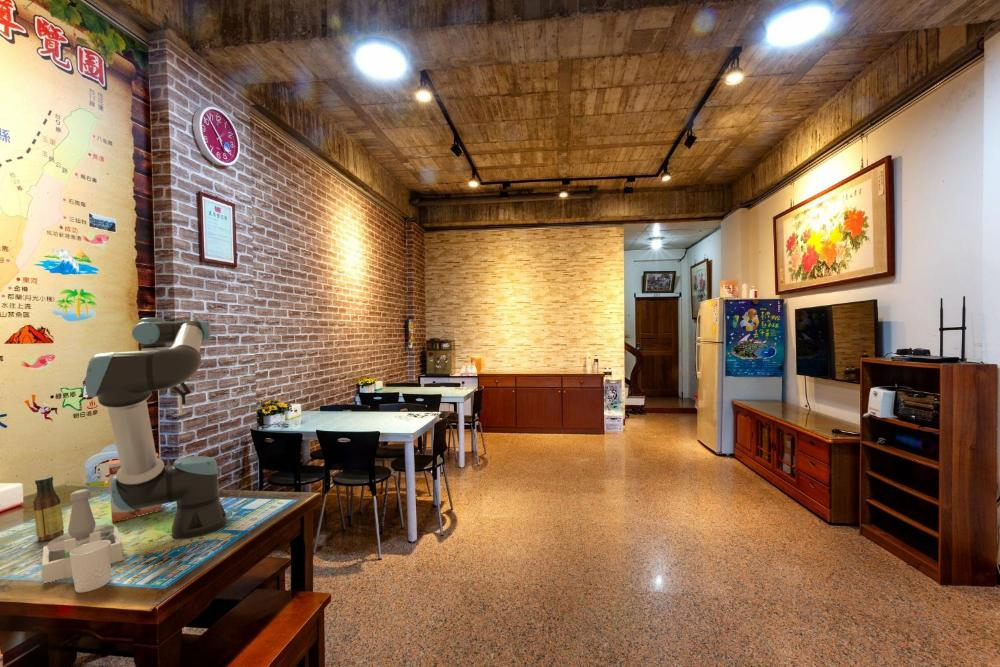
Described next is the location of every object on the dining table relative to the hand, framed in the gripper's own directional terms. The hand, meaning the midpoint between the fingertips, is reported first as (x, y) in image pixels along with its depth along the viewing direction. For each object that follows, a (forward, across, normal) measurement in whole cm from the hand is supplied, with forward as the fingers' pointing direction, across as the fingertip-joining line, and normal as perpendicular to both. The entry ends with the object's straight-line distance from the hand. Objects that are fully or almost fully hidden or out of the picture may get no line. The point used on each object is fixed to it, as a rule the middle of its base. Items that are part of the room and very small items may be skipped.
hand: (158, 416), depth 164 cm
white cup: (+35, +22, +49) cm, 64 cm away
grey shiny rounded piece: (+33, +23, +31) cm, 51 cm away
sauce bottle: (+35, +30, -3) cm, 46 cm away
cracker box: (+35, +8, -2) cm, 36 cm away
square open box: (+35, +23, +29) cm, 51 cm away
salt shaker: (+27, +23, +29) cm, 46 cm away
